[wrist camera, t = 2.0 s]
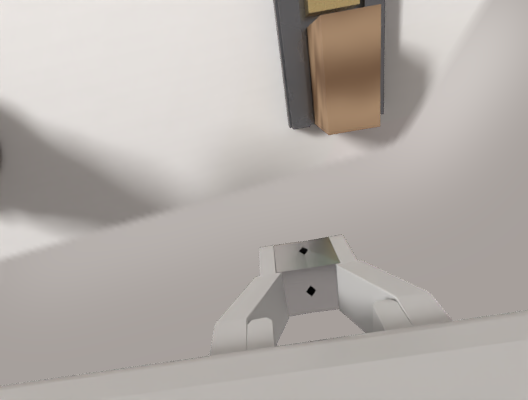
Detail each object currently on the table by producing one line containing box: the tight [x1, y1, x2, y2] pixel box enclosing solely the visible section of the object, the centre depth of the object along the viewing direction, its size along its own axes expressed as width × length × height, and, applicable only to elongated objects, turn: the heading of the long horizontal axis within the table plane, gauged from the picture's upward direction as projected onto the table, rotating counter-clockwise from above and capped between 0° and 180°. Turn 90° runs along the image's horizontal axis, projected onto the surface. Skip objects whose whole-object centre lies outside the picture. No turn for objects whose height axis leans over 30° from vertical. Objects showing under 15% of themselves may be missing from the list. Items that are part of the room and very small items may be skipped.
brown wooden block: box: [306, 4, 381, 135], centre depth 28 cm, size 10×5×7 cm, turn 9°
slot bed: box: [273, 0, 385, 129], centre depth 29 cm, size 22×11×2 cm, turn 9°
